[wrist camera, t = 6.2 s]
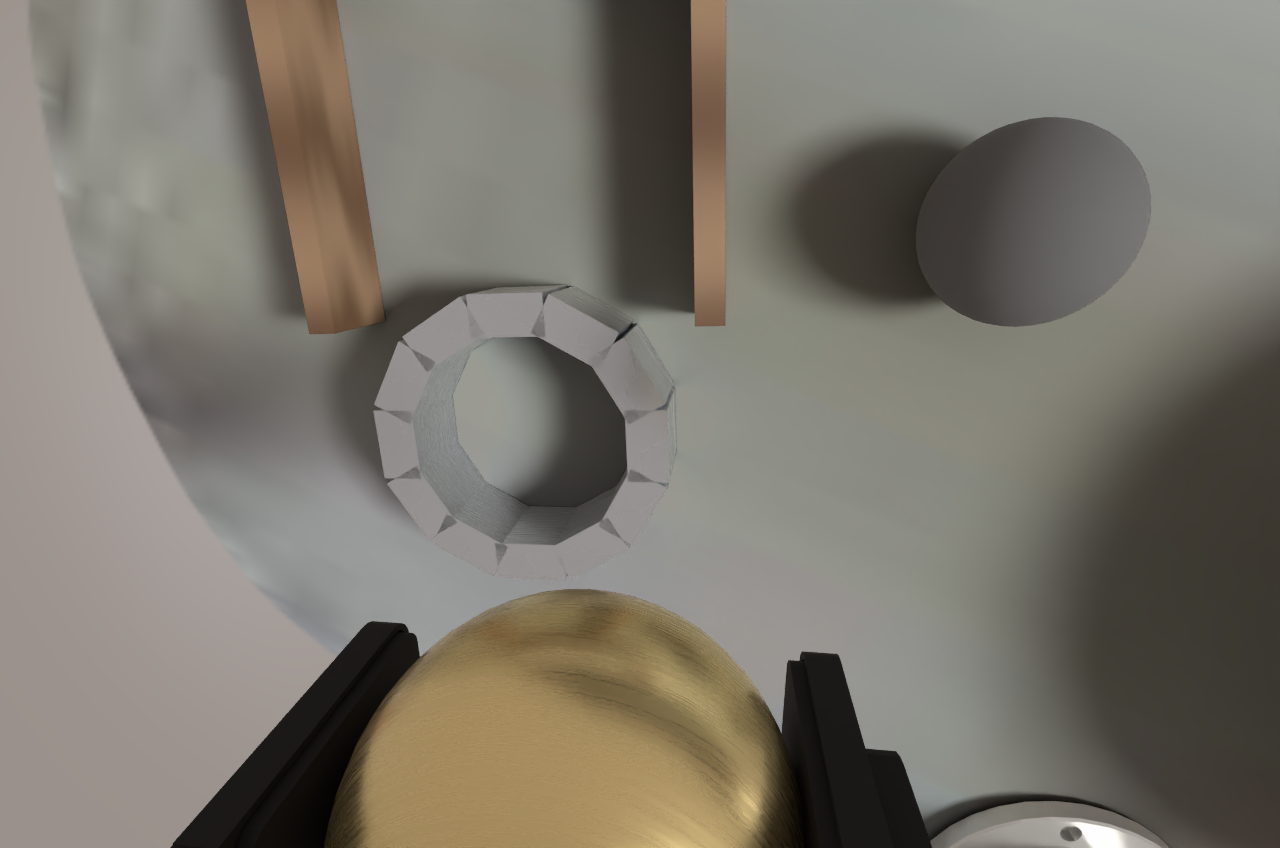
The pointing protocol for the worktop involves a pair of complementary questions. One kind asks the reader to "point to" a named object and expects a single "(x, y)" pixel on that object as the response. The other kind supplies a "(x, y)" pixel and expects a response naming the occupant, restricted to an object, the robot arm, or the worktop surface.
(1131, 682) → the worktop surface
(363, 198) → the walnut housing
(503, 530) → the steel race
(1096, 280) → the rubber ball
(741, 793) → the brass ball
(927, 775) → the worktop surface
